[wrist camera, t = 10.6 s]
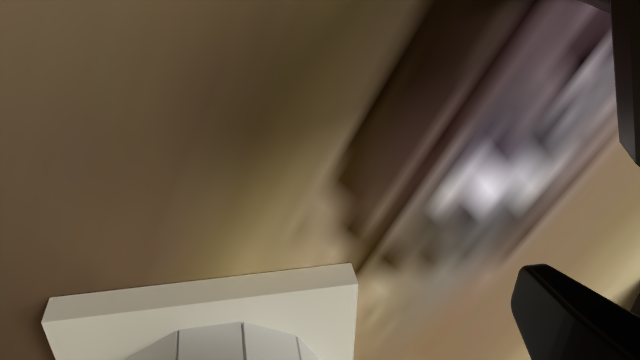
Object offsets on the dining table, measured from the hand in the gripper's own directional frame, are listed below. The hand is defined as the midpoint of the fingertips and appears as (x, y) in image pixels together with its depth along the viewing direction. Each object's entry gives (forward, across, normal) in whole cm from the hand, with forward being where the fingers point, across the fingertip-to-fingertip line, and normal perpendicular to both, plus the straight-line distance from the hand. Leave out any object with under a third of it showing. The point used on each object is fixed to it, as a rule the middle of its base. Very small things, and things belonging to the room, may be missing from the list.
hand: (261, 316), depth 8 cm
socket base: (+13, +2, +18) cm, 22 cm away
